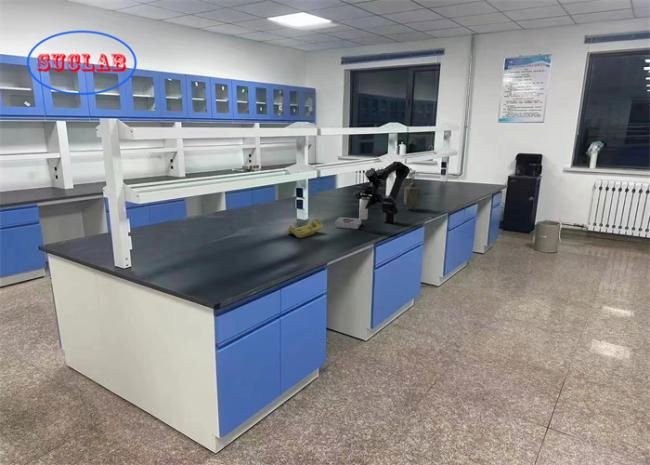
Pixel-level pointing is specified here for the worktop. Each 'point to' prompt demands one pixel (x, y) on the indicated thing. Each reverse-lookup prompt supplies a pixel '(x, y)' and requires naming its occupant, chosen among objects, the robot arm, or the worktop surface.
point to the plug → (363, 208)
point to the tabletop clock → (412, 195)
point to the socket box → (348, 223)
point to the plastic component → (306, 229)
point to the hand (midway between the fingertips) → (362, 207)
